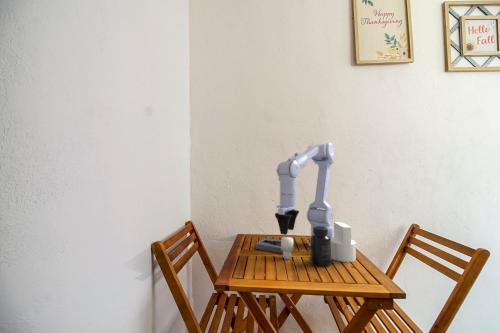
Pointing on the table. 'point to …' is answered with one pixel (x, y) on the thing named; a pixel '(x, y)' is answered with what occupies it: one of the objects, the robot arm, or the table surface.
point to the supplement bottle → (320, 247)
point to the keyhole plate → (269, 245)
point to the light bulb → (287, 247)
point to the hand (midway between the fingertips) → (287, 231)
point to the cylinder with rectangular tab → (343, 243)
